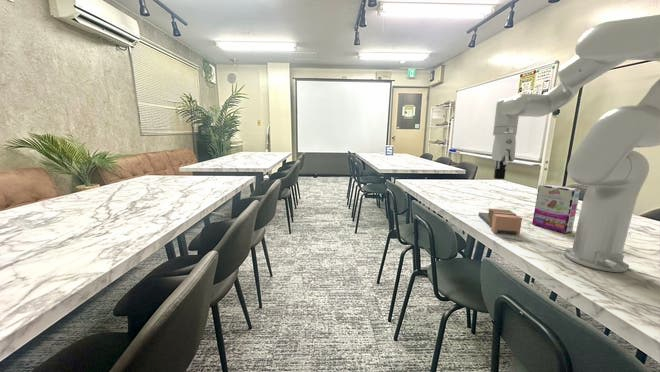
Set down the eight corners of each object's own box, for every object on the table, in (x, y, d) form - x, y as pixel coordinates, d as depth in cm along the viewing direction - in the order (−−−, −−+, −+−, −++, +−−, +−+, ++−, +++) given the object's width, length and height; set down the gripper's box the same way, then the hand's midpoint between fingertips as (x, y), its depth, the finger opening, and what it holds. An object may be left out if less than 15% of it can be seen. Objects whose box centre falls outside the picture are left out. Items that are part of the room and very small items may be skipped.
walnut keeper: (514, 227, 93) (516, 214, 92) (492, 225, 95) (494, 212, 94) (507, 222, 99) (509, 210, 98) (487, 220, 101) (489, 208, 100)
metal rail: (515, 235, 91) (516, 231, 90) (496, 233, 92) (497, 229, 92) (493, 216, 112) (494, 213, 111) (478, 215, 113) (478, 212, 113)
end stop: (519, 235, 90) (522, 218, 89) (493, 233, 92) (496, 216, 91) (515, 232, 93) (518, 215, 92) (490, 230, 95) (493, 213, 94)
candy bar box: (572, 232, 95) (581, 188, 92) (565, 234, 93) (574, 190, 90) (538, 222, 105) (545, 183, 102) (531, 224, 103) (538, 184, 100)
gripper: (525, 130, 90) (518, 182, 94) (507, 132, 105) (502, 176, 108) (501, 130, 92) (495, 181, 95) (487, 132, 107) (482, 176, 110)
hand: (499, 178), depth 102 cm, fingers closed
